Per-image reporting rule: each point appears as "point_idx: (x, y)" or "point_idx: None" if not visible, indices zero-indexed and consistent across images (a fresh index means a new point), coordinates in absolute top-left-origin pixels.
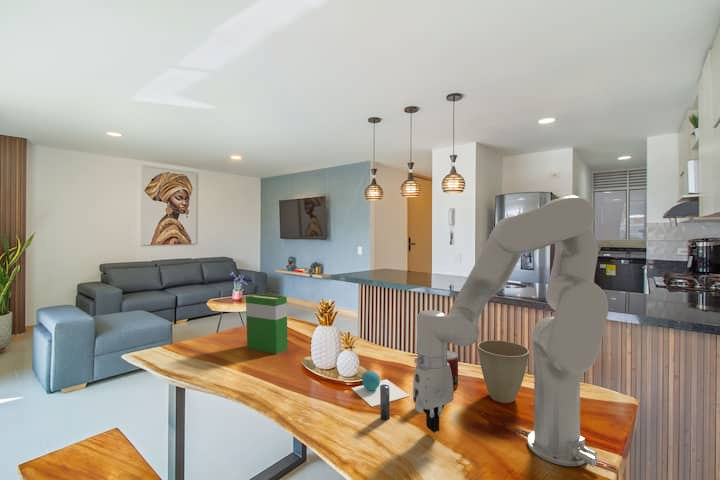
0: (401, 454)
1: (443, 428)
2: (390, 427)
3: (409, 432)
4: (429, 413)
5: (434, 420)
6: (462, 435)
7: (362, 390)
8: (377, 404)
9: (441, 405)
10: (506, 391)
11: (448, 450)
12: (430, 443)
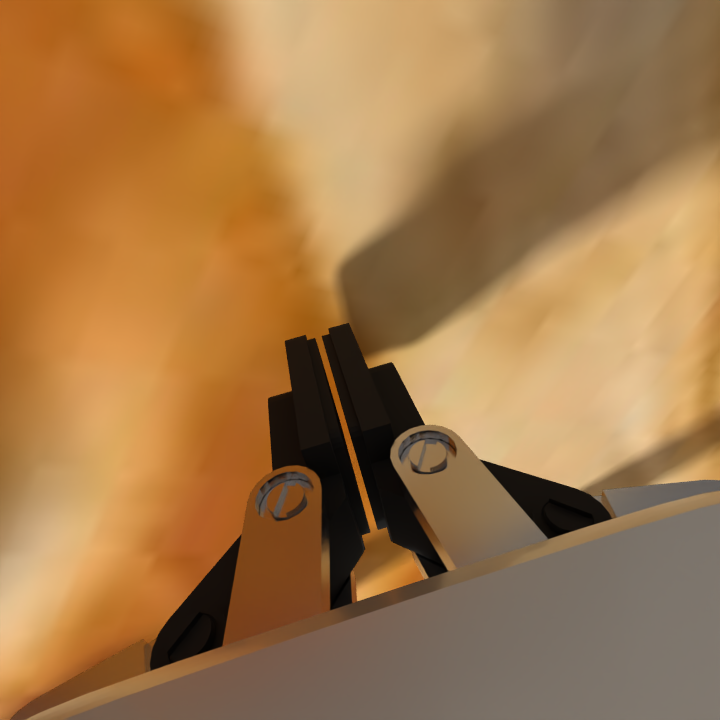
0: (703, 158)
1: (187, 416)
2: (555, 462)
3: (478, 403)
4: (484, 476)
5: (378, 399)
6: (9, 289)
7: None
8: None
9: (307, 621)
10: None
11: (280, 68)
12: (403, 240)
